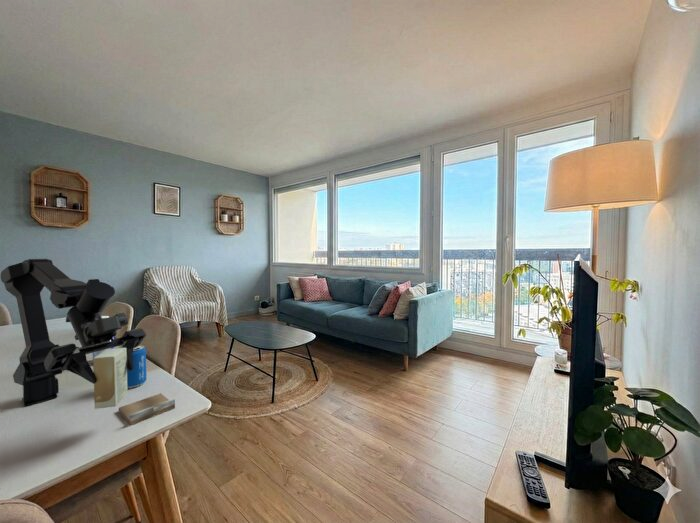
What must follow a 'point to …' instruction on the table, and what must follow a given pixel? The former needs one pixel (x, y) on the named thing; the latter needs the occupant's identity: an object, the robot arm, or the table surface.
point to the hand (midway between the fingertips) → (114, 375)
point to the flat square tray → (146, 408)
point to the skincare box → (110, 377)
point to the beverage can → (137, 368)
